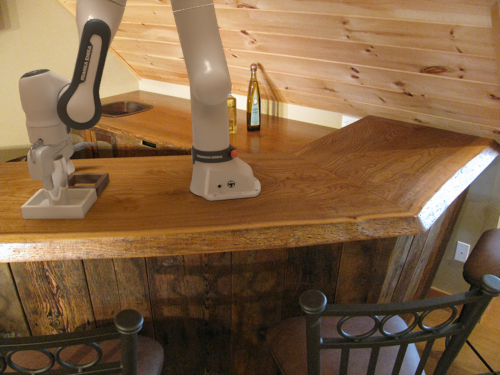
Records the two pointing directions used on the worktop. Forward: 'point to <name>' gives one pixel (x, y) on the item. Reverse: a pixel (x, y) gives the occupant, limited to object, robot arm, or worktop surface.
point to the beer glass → (59, 184)
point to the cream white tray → (42, 210)
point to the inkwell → (76, 148)
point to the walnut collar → (89, 181)
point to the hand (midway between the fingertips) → (57, 182)
